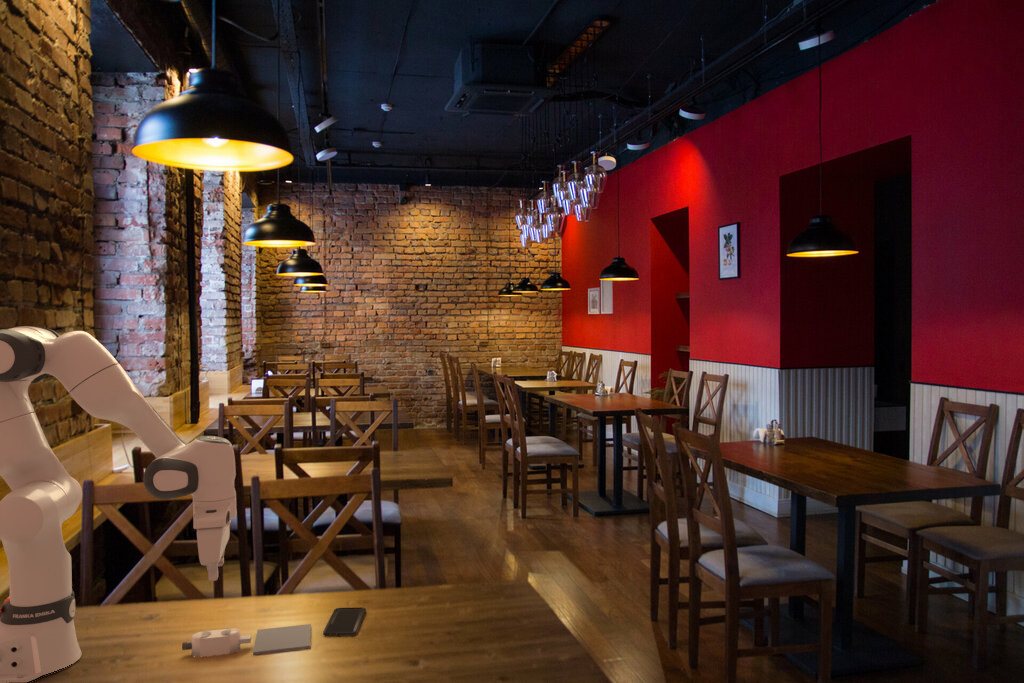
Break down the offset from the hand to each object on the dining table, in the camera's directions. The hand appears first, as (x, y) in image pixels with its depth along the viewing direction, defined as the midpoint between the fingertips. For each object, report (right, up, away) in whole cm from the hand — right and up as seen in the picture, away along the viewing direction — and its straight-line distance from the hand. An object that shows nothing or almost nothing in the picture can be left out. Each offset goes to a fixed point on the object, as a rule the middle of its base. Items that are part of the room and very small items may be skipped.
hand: (216, 572), depth 157 cm
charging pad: (+13, -17, +6) cm, 22 cm away
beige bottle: (0, -18, 0) cm, 18 cm away
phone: (+25, -18, +15) cm, 34 cm away
